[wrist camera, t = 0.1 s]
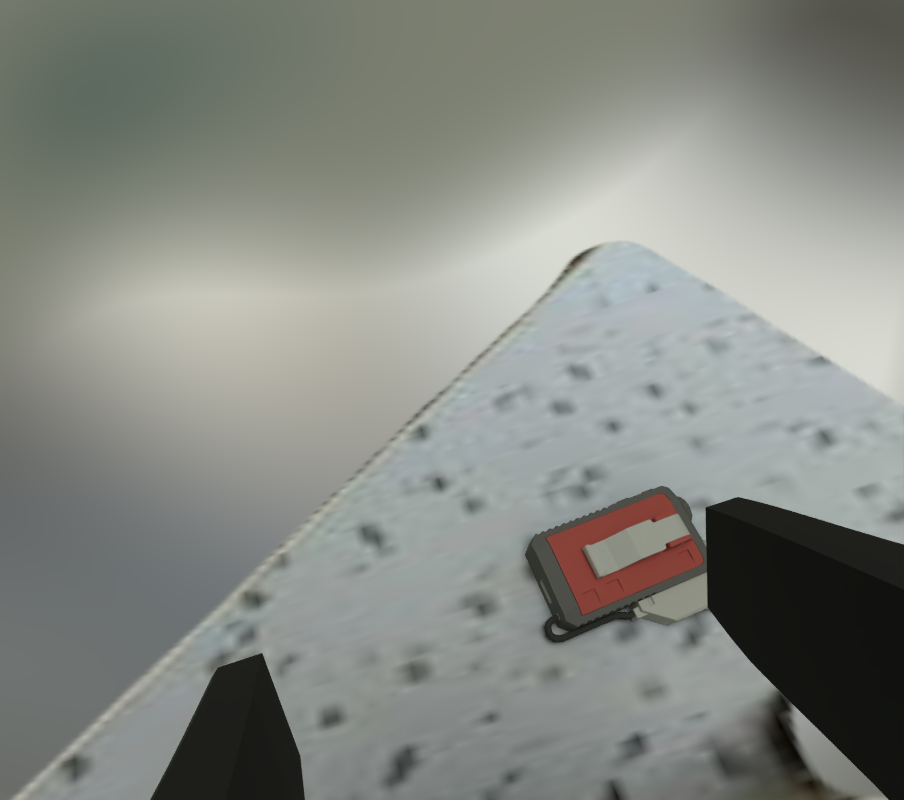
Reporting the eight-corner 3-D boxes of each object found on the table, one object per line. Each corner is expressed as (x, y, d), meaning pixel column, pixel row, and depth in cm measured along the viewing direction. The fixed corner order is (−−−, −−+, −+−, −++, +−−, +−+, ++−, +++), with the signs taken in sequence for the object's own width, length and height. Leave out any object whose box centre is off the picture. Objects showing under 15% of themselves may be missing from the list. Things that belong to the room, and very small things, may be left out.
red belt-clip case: (559, 677, 39) (802, 567, 43) (576, 670, 35) (840, 551, 39) (504, 551, 42) (733, 463, 47) (514, 533, 39) (761, 439, 43)
